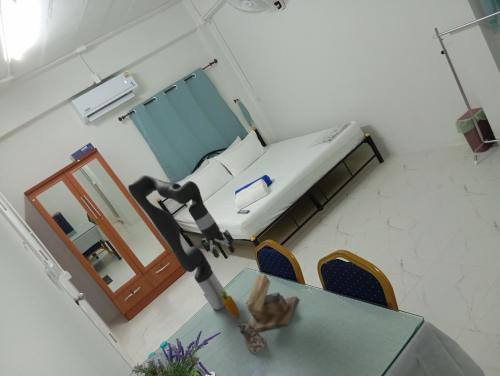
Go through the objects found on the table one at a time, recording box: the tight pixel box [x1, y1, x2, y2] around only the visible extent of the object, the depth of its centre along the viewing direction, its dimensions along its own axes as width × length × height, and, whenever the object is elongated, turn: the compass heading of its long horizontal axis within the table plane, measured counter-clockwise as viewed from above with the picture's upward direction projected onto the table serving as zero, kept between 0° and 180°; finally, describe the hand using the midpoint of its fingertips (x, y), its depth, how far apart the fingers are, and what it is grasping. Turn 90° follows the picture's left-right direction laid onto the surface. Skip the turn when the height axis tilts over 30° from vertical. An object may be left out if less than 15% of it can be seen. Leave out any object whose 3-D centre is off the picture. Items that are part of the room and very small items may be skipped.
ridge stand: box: [245, 291, 299, 332], centre depth 190 cm, size 20×16×10 cm
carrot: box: [219, 290, 240, 318], centre depth 204 cm, size 5×5×15 cm
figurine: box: [237, 321, 266, 354], centre depth 176 cm, size 7×7×12 cm
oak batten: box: [246, 273, 271, 315], centre depth 188 cm, size 4×20×5 cm, turn 164°
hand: (225, 254), depth 197 cm, fingers open, 8 cm apart
